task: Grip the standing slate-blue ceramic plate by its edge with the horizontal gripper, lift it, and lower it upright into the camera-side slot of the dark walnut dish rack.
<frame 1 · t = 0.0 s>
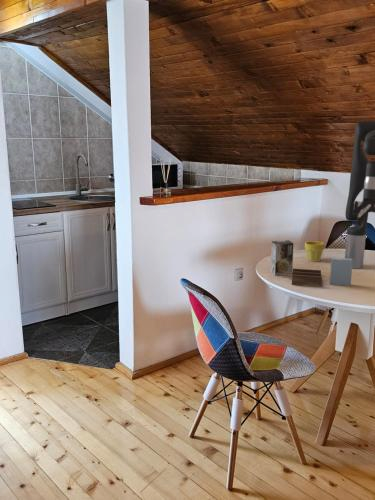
hand: (370, 226, 197), 29 cm above the table, tool pointing down, fingers open, 8 cm apart
plant pot: (313, 260, 258), on the table
plate: (339, 284, 216), on the table
coffee box: (281, 274, 233), on the table
rack: (306, 281, 219), on the table
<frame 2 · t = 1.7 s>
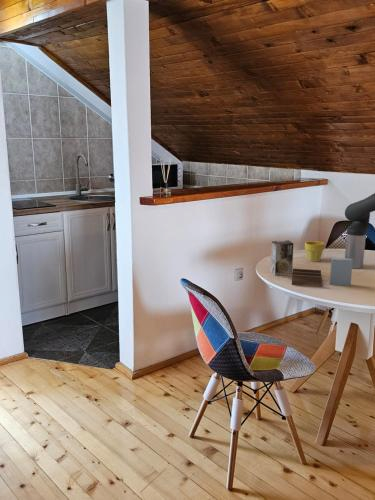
nothing on the table moved.
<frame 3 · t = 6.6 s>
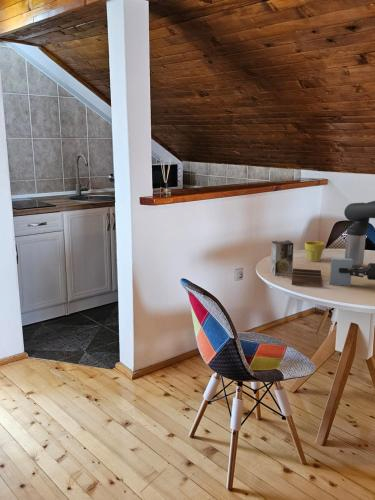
hand: (339, 269, 214), 7 cm above the table, tool horizontal, fingers closed on plate, 3 cm apart
plate: (339, 284, 216), on the table, touching gripper
everything else where it was.
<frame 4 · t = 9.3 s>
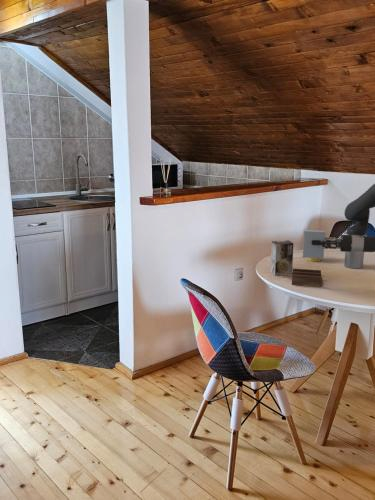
hand: (311, 241, 212), 20 cm above the table, tool horizontal, fingers closed on plate, 3 cm apart
plate: (312, 257, 213), point 13 cm above the table, touching gripper
everything else where it was.
when the fingers open (9 cm above the table, at t = 12.3 s): plate drops 1 cm, resting on rack.
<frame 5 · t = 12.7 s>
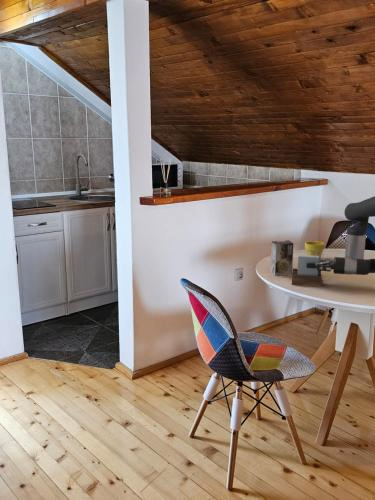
hand: (306, 263, 215), 10 cm above the table, tool horizontal, fingers open, 6 cm apart
plate: (306, 281, 217), point 1 cm above the table, touching rack
everything else where it was.
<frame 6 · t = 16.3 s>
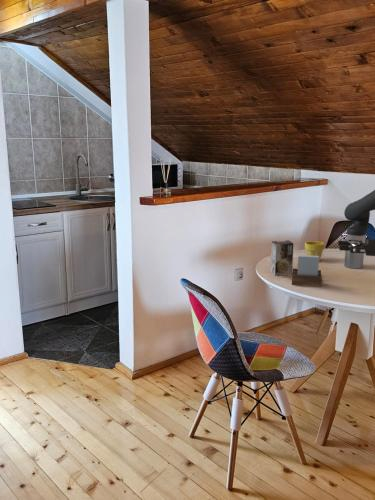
hand: (338, 245, 210), 19 cm above the table, tool horizontal, fingers open, 8 cm apart
nothing on the table moved.
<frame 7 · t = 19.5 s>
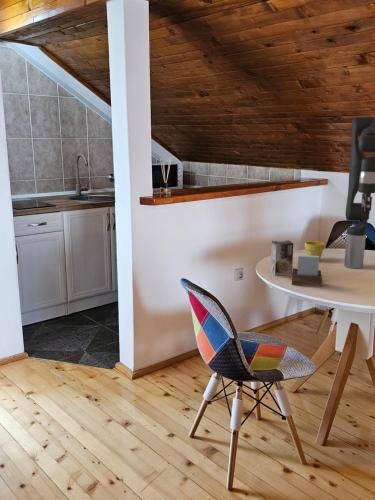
hand: (365, 218, 213), 30 cm above the table, tool pointing down, fingers open, 8 cm apart
nothing on the table moved.
at the end: plate 0.3 cm from the target spot on the rack, point 1.0 cm above the rack's base; plate tilted 0°; the gripper is holding nothing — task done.
